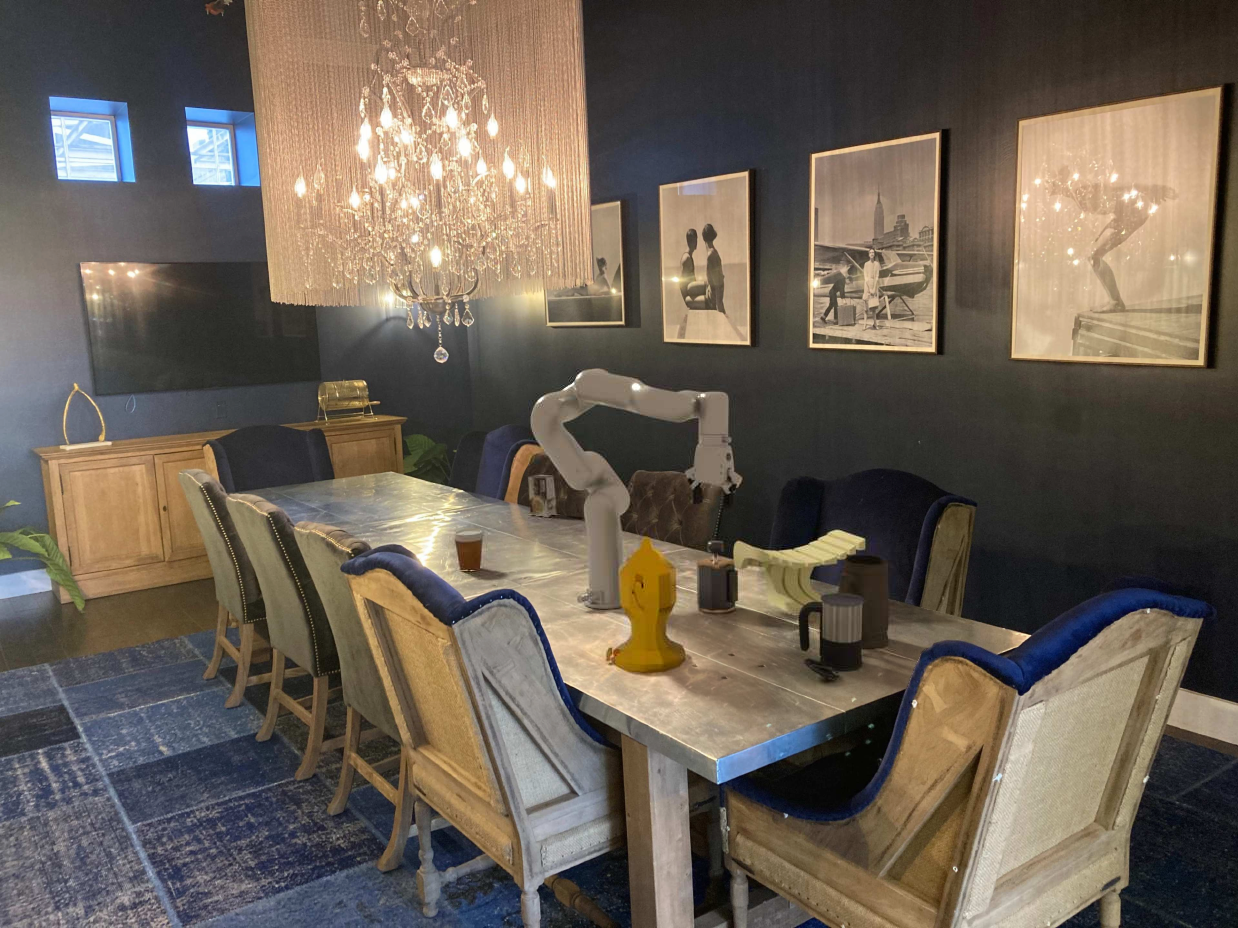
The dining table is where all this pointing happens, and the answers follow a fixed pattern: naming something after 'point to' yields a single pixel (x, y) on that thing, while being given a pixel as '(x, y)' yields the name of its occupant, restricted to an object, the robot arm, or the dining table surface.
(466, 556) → the glass of beer
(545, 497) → the coffee box
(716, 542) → the plunger
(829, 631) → the milk frother
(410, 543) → the dining table surface
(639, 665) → the yellow tall piece
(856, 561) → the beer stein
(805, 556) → the slatted curved stool
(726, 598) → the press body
